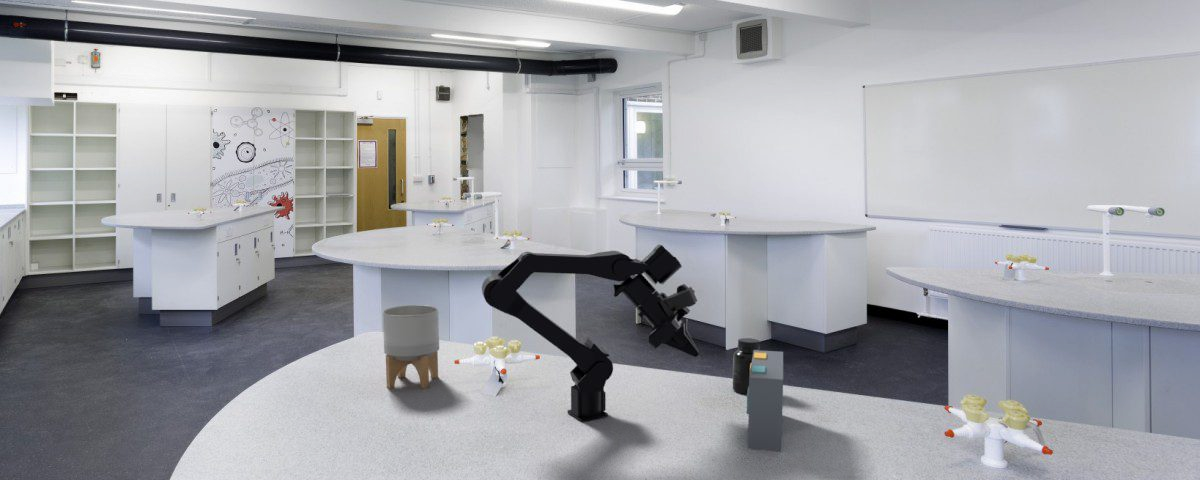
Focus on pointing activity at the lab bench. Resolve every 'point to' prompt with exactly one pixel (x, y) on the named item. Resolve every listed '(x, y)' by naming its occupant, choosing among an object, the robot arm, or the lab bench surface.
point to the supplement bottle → (743, 364)
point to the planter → (411, 342)
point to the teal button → (748, 401)
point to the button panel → (765, 401)
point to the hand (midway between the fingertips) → (697, 355)
